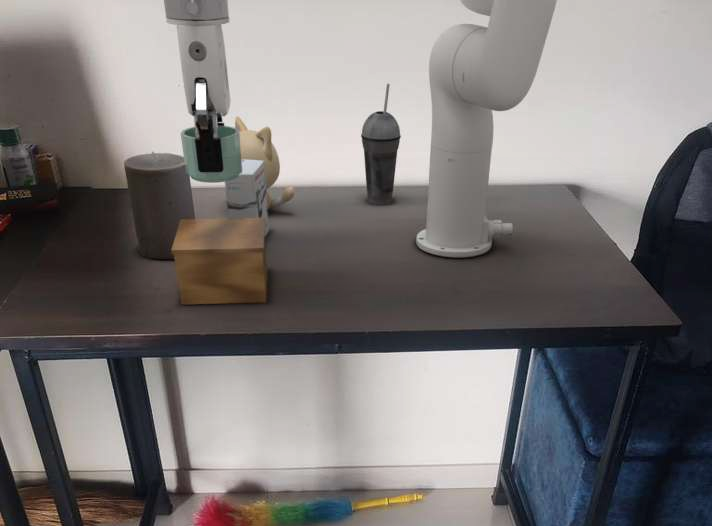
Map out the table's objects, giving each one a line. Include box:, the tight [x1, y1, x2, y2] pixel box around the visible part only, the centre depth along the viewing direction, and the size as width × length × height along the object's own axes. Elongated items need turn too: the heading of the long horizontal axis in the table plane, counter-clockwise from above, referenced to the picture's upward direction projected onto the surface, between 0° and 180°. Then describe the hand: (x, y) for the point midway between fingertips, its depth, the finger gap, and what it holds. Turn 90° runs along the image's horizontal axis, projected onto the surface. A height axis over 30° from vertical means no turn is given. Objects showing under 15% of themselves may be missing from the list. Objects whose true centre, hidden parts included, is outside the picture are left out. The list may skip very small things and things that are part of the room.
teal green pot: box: [180, 125, 243, 184], centre depth 102 cm, size 8×8×6 cm
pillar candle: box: [123, 151, 196, 260], centre depth 121 cm, size 10×10×15 cm
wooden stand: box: [171, 218, 268, 306], centre depth 111 cm, size 12×12×8 cm
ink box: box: [224, 159, 270, 237], centre depth 126 cm, size 9×5×12 cm, turn 174°
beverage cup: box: [360, 83, 402, 206], centre depth 140 cm, size 7×7×20 cm
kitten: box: [234, 116, 296, 211], centre depth 137 cm, size 15×10×15 cm
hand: (213, 162), depth 103 cm, fingers closed on teal green pot, 7 cm apart
